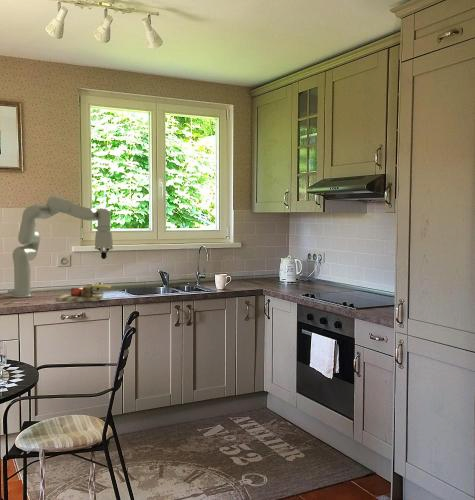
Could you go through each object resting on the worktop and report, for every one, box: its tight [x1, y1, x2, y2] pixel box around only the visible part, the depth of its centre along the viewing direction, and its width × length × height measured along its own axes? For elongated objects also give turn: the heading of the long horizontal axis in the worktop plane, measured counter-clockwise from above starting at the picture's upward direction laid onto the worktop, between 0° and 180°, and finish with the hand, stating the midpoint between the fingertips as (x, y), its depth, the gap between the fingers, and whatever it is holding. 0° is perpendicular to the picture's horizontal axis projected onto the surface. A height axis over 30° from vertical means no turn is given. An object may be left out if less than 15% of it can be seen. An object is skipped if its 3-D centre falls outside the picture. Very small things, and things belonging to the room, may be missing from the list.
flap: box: [91, 283, 112, 289], centre depth 346 cm, size 1×10×11 cm
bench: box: [56, 284, 104, 302], centre depth 345 cm, size 25×14×8 cm, turn 94°
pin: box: [70, 287, 105, 296], centre depth 345 cm, size 19×5×5 cm, turn 93°
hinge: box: [94, 280, 104, 295], centre depth 366 cm, size 17×5×10 cm, turn 13°
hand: (103, 258), depth 345 cm, fingers closed
